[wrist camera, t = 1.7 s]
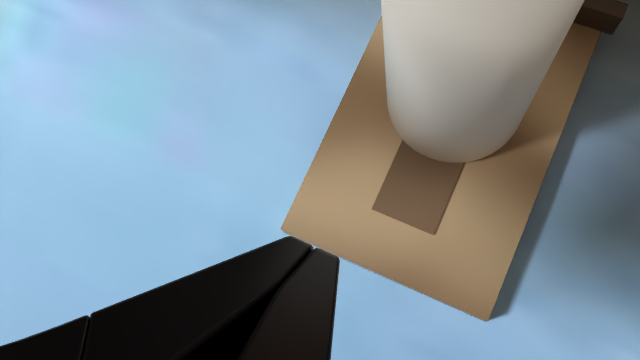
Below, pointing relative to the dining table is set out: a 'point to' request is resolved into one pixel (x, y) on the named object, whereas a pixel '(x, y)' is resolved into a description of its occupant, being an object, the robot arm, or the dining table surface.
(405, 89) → the post
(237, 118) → the dining table surface
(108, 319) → the robot arm
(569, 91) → the level stand
